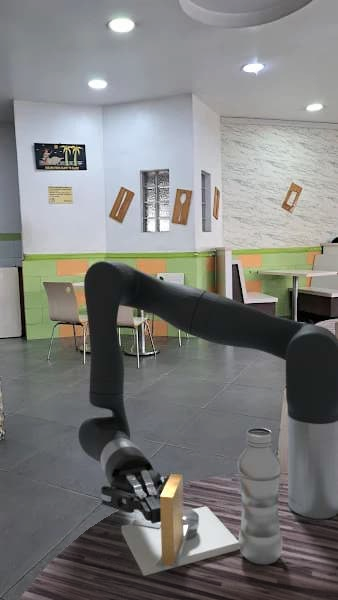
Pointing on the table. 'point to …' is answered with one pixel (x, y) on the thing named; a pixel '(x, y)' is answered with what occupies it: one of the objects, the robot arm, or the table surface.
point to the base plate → (198, 545)
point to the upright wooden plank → (175, 521)
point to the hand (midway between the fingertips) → (157, 516)
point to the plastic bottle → (259, 499)
